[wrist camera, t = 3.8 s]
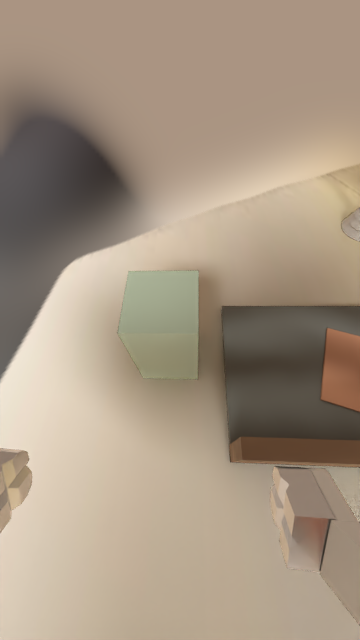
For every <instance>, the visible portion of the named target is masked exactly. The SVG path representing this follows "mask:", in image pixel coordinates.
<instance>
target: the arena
mask: <svg viewBox="0 0 360 640" xmlns="http://www.w3.org/2000/svg"><path fill="white" fill-rule="evenodd" d="M222 325H223V342H224V360H225V378H226V396H227V413H228V431H229V449H230V462H236V463H261V464H286V465H312V466H337V467H360V306H222Z"/></svg>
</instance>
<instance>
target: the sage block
mask: <svg viewBox="0 0 360 640" xmlns="http://www.w3.org/2000/svg"><path fill="white" fill-rule="evenodd" d="M117 333H118V335H119V337H120V339H121V340H122V342H123V344H124V346H125V347H126V349H127V351H128V352H129V354H130V356H131V358H132V359H133V361H134V363H135V365H136V366H137V368H138V370H139V371H140V373H141V375H142V377H143V378H155V379H198V339H199V271H129V272H128V277H127V283H126V288H125V294H124V299H123V305H122V310H121V316H120V321H119V327H118V332H117Z"/></svg>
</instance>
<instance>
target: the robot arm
mask: <svg viewBox="0 0 360 640" xmlns="http://www.w3.org/2000/svg"><path fill="white" fill-rule="evenodd" d="M28 461H29V456H28V452H26V451H24V450H14V449H3V448H0V533H1V532H2V530H3V529H4V528H5V526H6V525H7V523H8V522H9V521H10V519H11V514H12V510H13V509H15V508H16V507H18V506H19V505H21V504H22V502H23V501H24V499H25V498H26V497H27V495H28V493H29V490H30V487H31V485H32V472H31V470H30V469H29V468H28V467H27V466H26V464H27V463H28ZM272 477H273V480H274V485H273V486H272V487H271V492H270V503H271V511H272V516H273V520H274V524H275V525H276V526H277V527H278V529H279V530H280V538H279V542H280V546H281V549H282V553H283V556H284V560H285V563H286V567H287V568H289V569H297V570H305V571H313V572H320V575H321V576H322V578H323V579H324V580H325V582H326V583H327V584H328V585H329V587H330V588H331V589H332V591H333V592H334V593H335V594H336V596H337V597H338V598H339V600H340V601H341V602H342V603H343V605H344V606H345V607H346V609H347V610H348V611H349V612H350V614H351V615H352V616H353V618H354V619H355V620H356V621H357V623H358V624H359V625H360V522H358V521H357V519H356V517H355V516H354V514H353V512H352V511H351V509H350V507H349V506H348V504H347V502H346V501H345V499H344V497H343V495H342V494H341V492H340V490H339V489H338V487H337V485H336V484H335V482H334V480H333V479H332V477H331V475H330V474H329V472H328V471H327V470H326V469H323V468H301V467H282V466H274V468H273V474H272Z"/></svg>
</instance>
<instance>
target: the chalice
mask: <svg viewBox="0 0 360 640" xmlns="http://www.w3.org/2000/svg"><path fill="white" fill-rule="evenodd" d="M341 227H342V230H343V231H344V233H345V234H346V235H347V236H349V237H350V238H352V239H354V240H356V241H360V208H358V209H357V210H356V211H355V212H353V213H351V214H350V215H349V216H348V217H347V218H345V219H344V220H343V221H342V224H341Z"/></svg>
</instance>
